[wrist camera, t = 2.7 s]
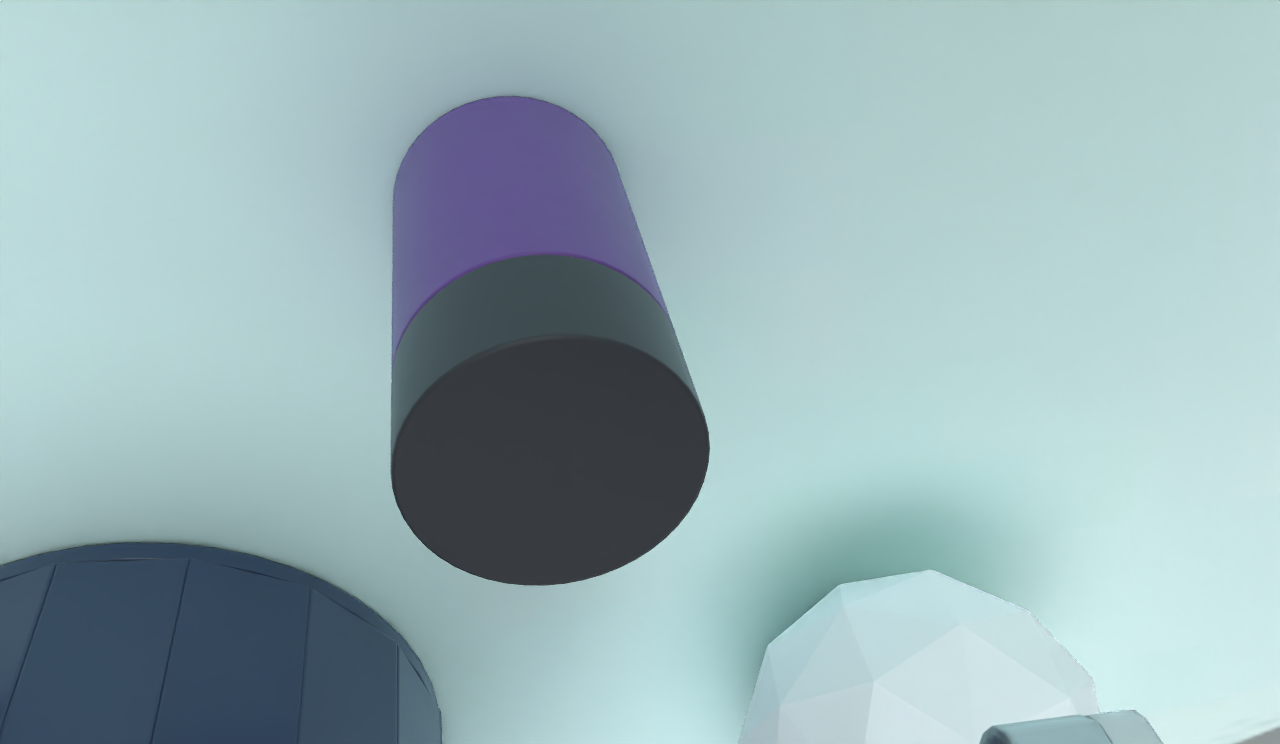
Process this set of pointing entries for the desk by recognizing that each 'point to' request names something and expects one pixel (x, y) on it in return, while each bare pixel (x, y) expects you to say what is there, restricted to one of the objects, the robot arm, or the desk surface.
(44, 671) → the tin
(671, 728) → the desk surface
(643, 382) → the glue stick
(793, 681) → the ball
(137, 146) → the desk surface
